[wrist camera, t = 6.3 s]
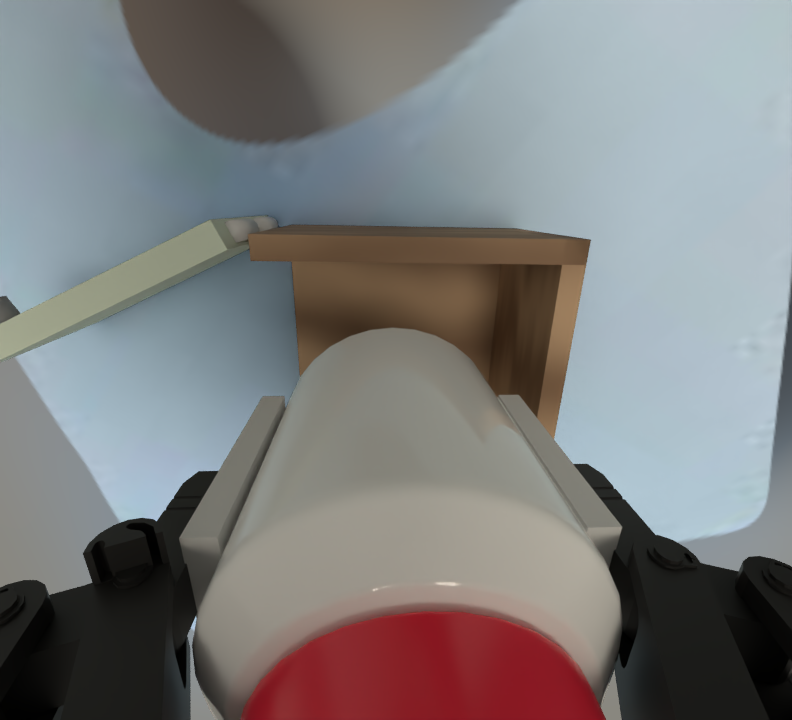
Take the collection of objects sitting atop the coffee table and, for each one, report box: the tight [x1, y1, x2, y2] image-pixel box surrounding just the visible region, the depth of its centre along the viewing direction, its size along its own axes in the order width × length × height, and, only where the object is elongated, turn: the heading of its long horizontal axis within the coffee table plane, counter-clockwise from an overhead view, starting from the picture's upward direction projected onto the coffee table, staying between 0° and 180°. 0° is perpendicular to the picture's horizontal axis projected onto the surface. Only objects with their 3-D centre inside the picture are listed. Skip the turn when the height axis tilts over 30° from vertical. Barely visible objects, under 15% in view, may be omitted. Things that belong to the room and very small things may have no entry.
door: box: [0, 215, 278, 363], centre depth 20 cm, size 13×2×9 cm, turn 114°
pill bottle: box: [192, 327, 623, 720], centre depth 10 cm, size 8×8×11 cm
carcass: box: [248, 225, 591, 439], centre depth 22 cm, size 13×14×9 cm
